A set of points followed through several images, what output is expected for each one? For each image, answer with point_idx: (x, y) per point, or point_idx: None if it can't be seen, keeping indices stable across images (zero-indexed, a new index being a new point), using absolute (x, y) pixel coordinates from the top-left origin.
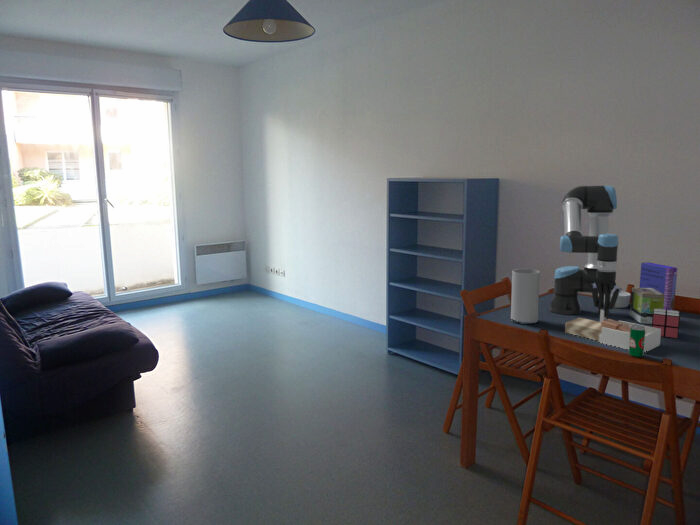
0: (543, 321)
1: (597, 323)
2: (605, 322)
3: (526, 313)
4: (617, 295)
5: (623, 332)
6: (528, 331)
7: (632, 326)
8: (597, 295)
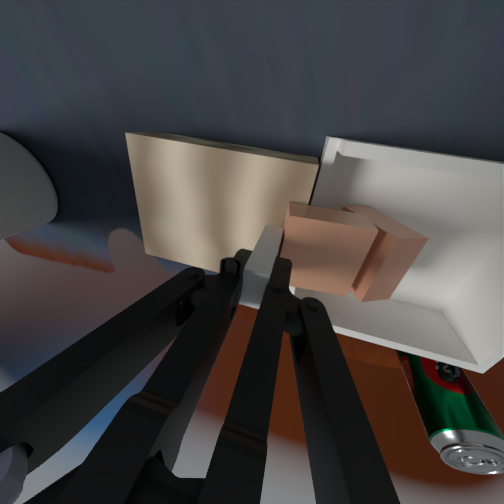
0: (39, 134)
1: (236, 193)
2: (291, 285)
3: (13, 232)
4: (384, 497)
5: (385, 344)
6: (108, 270)
7: (443, 460)
8: (131, 344)
